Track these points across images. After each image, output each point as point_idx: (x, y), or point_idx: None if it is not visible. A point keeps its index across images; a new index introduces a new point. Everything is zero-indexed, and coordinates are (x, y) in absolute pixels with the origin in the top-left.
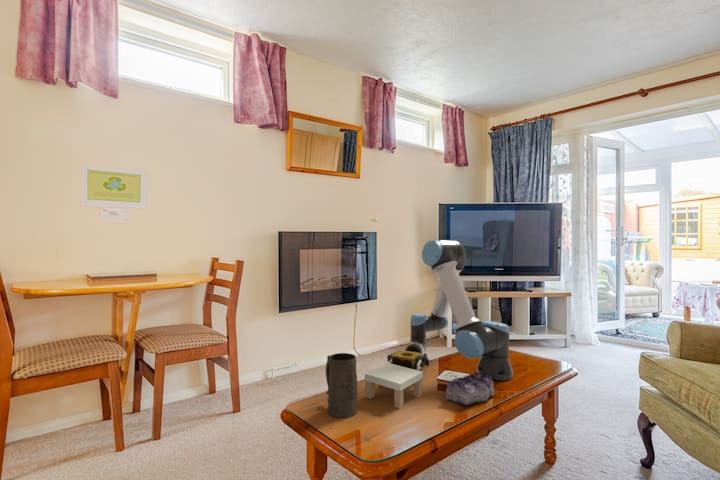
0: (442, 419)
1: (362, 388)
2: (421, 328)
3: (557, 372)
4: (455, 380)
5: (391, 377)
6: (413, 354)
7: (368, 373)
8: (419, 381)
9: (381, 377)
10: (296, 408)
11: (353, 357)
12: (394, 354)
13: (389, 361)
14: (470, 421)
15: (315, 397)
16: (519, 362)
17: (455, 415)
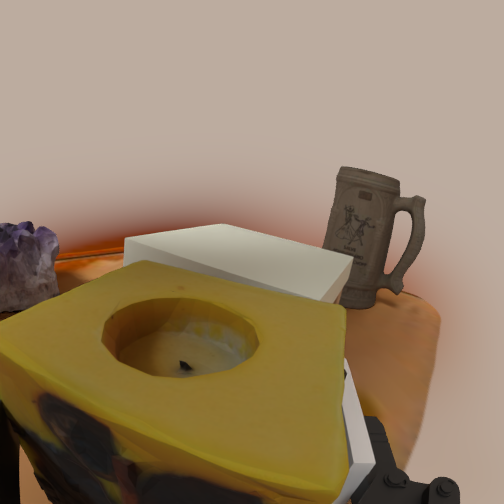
0: (118, 264)
1: (377, 373)
2: None
3: None
4: (28, 232)
5: (256, 237)
6: (97, 319)
7: (342, 255)
8: None
9: (288, 241)
10: (420, 302)
11: (355, 174)
12: (331, 322)
13: (345, 360)
14: (65, 256)
15: (435, 326)
16: None
17: (81, 267)
